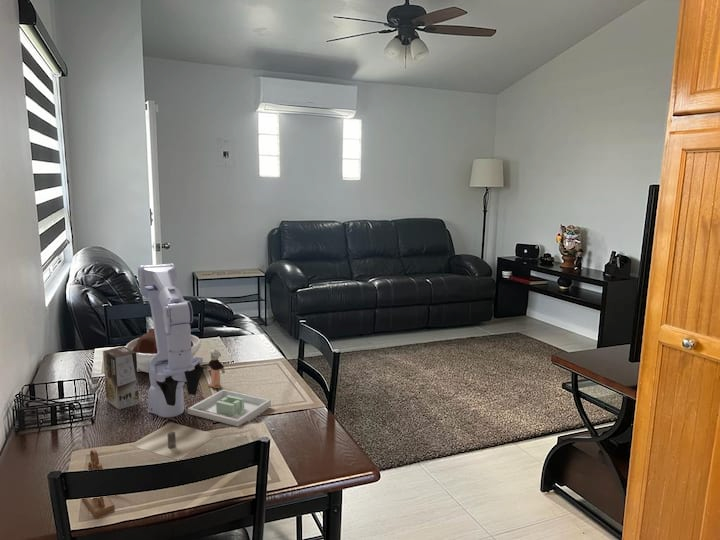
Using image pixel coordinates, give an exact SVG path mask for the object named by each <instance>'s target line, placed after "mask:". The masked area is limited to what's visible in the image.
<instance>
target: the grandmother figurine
mask: <svg viewBox="0 0 720 540" xmlns="http://www.w3.org/2000/svg"><path fill="white" fill-rule="evenodd" d="M209 354H210V359H211V360H209V362H208V364H207V370H210V374H211V375H210V383H209V384H208V385H207V387H208V388H213V389H214V388H219V387H220V386H222V384H221V374H225V373H226V371H225V366H224V365H223V363H222V362H221V361H220V360H219V358H220V357H221V356H222V353H221V352H220V351H219V350H218V349H211V350H210V351H209ZM220 371H221V373H220ZM220 388H221V387H220ZM220 388H219V389H220Z"/></svg>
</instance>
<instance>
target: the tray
mask: <svg viewBox="0 0 720 540" xmlns="http://www.w3.org/2000/svg"><path fill="white" fill-rule="evenodd" d="M228 395H231V396H235V397H240V398H244V409H245V413H243V414H242V415H240V414H235V415H234V416H229V415H225V414H220V413H217V411H216V402H217V401H220V400H221V399H223V398H224V397H226V396H228ZM269 407H271V408H272V400H271V399H268V398H264V397H259V396H256V395H251V394H245V393H242V392H238V391H233V390H228V389H225V388H224V389H223V388H222V389H221V390H219V391H217V392H215V393H214V394H212V395H210V396H209V397H208V396H207V398H204V399H203V400H200V401H199V402H197V403H195V404H193V405H192V406H190V407H188V408H187V415H192V416H196V417H200V418H203V419H207V420H212V421H215V422H218V423H223V424H227V425H231V426H234V427H240V426H241V425H243V424H244V423H245V422H249V423H251V422H252V421H253V420H255V419H256V418H258V417H259V416H260V415H259V414H261V413H262V412H263V411H265V410H267V409H268V408H269ZM268 410H269V409H268ZM268 410H267V411H268ZM265 412H266V411H265ZM262 414H263V413H262ZM262 414H261V415H262ZM258 415H259V416H258ZM257 416H258V417H257ZM254 418H255V419H254ZM251 420H252V421H251Z"/></svg>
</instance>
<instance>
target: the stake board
mask: <svg viewBox="0 0 720 540" xmlns="http://www.w3.org/2000/svg"><path fill="white" fill-rule="evenodd" d="M215 437H218V434H216V433H213V432H209V431H205V430H201V429H198V428H194V427H190V426H186V425H182V424H180V423H175V422H173V421H171V422H169V423H167V424H166V425H164V426H162V427H160V428H158V429H157V430H155V431H153V432H151V433H149V434H147V435H144V437H142V438H140V439H138V440H137V441H135V442H132V443H131V444H129V446H131V447H133V448H134V447H135V448H137V449H141V450H144V451H147V452H150V453H154V454H157V455H159V456H164V457H165V458H166V457H167V458H170V459H174V460H177V461H180V460H182V459H183V458H184V457H186V456H189V454H191V453H193V452H194V451H196V449H198V448H200V447H202V446H203V445H204V444H206V443H208V442H209V441H211V440H212V439H214V438H215ZM179 458H180V460H179Z"/></svg>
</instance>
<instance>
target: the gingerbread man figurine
mask: <svg viewBox="0 0 720 540" xmlns="http://www.w3.org/2000/svg"><path fill="white" fill-rule="evenodd" d="M89 452H90V453H89V456H90V461H89V462H88V464H87V467H88V469H87V470H100V469H103V468H104V467H103V465H102V463H100V459H99V458H100V457H99V455H98V451H97V450H96V449H95V448H94V449H91V450H90V451H89ZM103 470H104V469H103ZM82 501H83V502H84V504H85V505H86V506H87V509H88V510H89V512H90V513H91V514H92V515H93V517H94V518H97V517H101V516H103V515H104V514H107V513H110V512H112V511H115V507H116V506H115V504H114V503H113V502H112V500H111V499H110V497H109V496H108V497H100V498H93V499H84V500H83V499H82Z"/></svg>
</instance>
